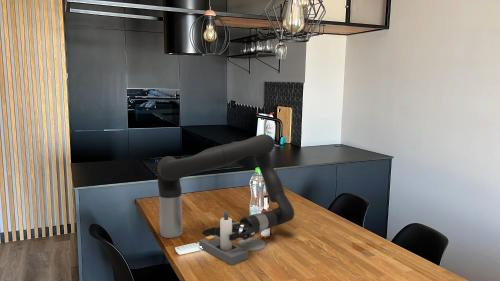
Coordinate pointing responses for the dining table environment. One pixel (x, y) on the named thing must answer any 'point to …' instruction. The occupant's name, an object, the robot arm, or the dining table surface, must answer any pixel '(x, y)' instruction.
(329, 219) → the dining table surface
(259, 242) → the pad
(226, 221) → the white and grey cylinder
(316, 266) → the dining table surface
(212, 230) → the phone
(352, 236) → the dining table surface
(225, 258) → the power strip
